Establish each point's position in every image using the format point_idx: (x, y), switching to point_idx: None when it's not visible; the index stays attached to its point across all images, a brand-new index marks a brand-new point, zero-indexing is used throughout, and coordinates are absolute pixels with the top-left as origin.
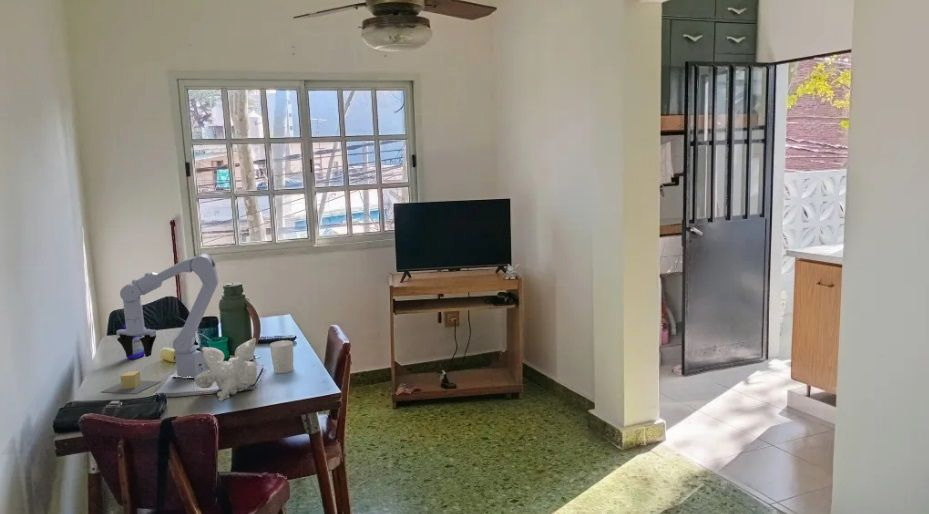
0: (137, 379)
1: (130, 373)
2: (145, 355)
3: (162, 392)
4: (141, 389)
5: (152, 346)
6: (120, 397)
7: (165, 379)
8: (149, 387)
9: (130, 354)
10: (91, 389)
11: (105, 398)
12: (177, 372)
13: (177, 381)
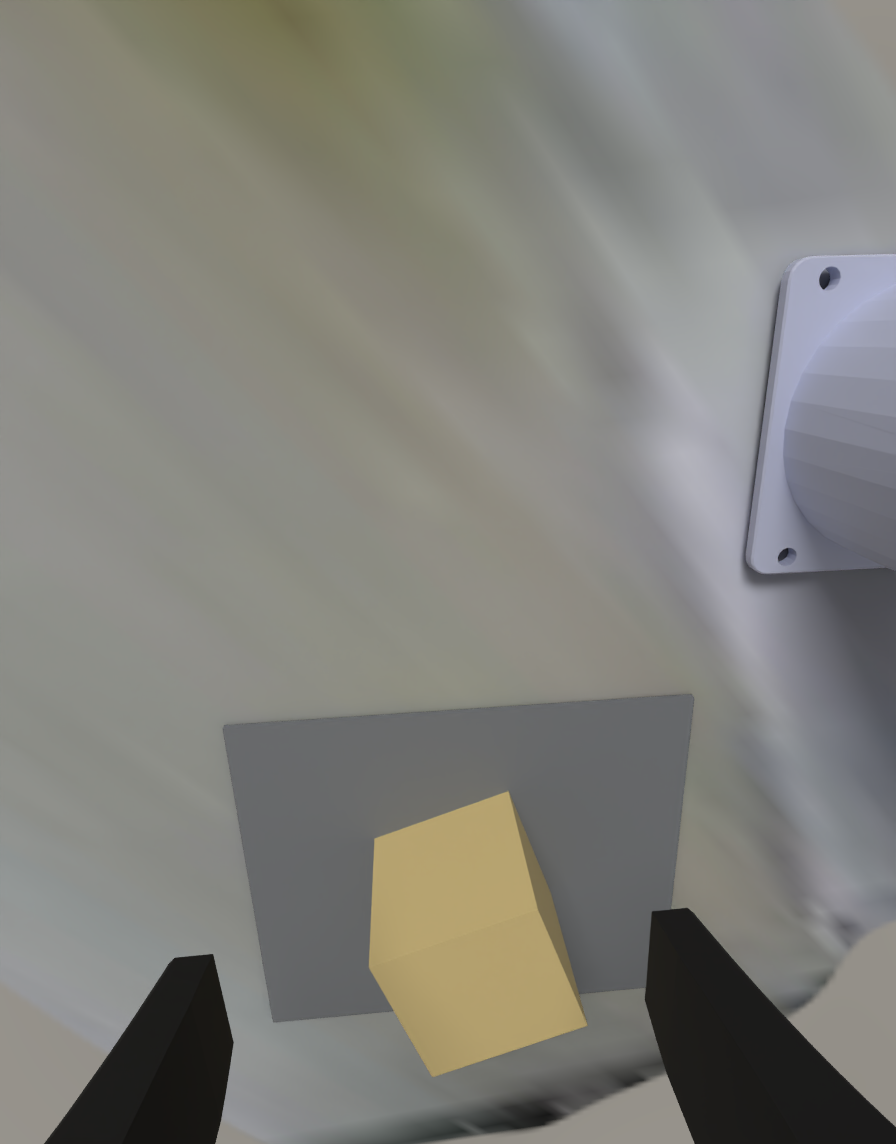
0: (545, 901)
1: (484, 993)
2: (666, 1038)
3: (888, 904)
4: (644, 908)
5: (846, 1080)
6: (576, 1051)
7: (686, 609)
8: (675, 841)
9: (217, 1023)
10: (90, 986)
11: (459, 1089)
12: (862, 554)
13: (877, 641)
